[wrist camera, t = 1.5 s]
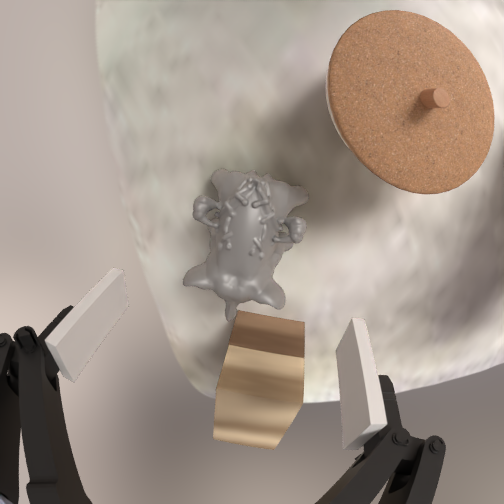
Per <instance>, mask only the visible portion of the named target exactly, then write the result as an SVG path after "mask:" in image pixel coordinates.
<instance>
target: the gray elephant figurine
mask: <svg viewBox="0 0 504 504" xmlns="http://www.w3.org/2000/svg"><path fill="white" fill-rule="evenodd" d="M211 182H212V183H213V184H214V186H215V187H216V189H217V192H218V197H219V202H216V201H215V200H213V199H212V198H210V197H207V196H198V197H197V198H196V199H195V201H194V205H193V218H194V219H195V220H197V221H199V222H201V223H203V224H205V225H208V230H209V232H210V233H211V239H210V253H209V255H208V257H207V259H206V262H205V263H203V264H201V265H198V266H195V267H193V268H191V269H190V270H189V271H188V272H187V273H186V275H185V277H184V279H183V285H184V286H196V287H198V288H201V289H207V290H213V291H214V292H215V293H216V294H217V295H218V296H219V297H220V298H222V299H224V300H225V302H226V309H225V316H226V319H227V321H231V320H232V319H234V318H235V316H236V314H237V309H236V308H237V305H238V304H240V303H244V302H247V301H250V300H254V301H256V302H258V303H261V304H268V305H270V306H272V307H274V308H276V309H282V308H283V307H284V305H285V293H284V291H283V289H282V288H281V287H280V286H279V285H278V284H277V283H276V282H275V281H274V280H273V278H272V277H273V273H274V269H275V267H276V265H277V264H278V263H279V261H280V259H281V257H282V254H283V252H284V251H287V250H289V249H291V248H292V246H293V243H299V242H301V240H302V238H303V235H304V233H305V231H306V228H307V224H306V221H305V220H304V219H303V218H301V217H287V215H288V214H289V213H290V211H291V210H292V209H293V208H294V207H296V206H300V205H303V204H305V203H306V202H307V201H308V200H309V194H308V192H307V190H306V189H305V188H304V187H302V186H300V185H297V186H290V185H288V184H287V183H286V182H283V181H278V180H274V179H273V178H272V176H271V175H270V174H265V175H264V176H263V177H260V176H257V173H256V172H255V171H254V170H253V171H250V172H248V173H246V174H244V173H241V172H238V171H232V172H229V171H228V170H226V169H219V170H217V171H215V172H213V173H212V175H211ZM214 208H217V209H218V210H220V211H219V212H216V213H215V216H216V217H218V218H214V219H212V220H209V219H208V218H207V217H206V214H207V212H208V211H210V210H212V209H214ZM283 223H284V224H285V225H286V226H287V227H288V229H289V235H288V234H287V233H284V232H281V233H279V231H282V230H283V228H282V224H283Z"/></svg>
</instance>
